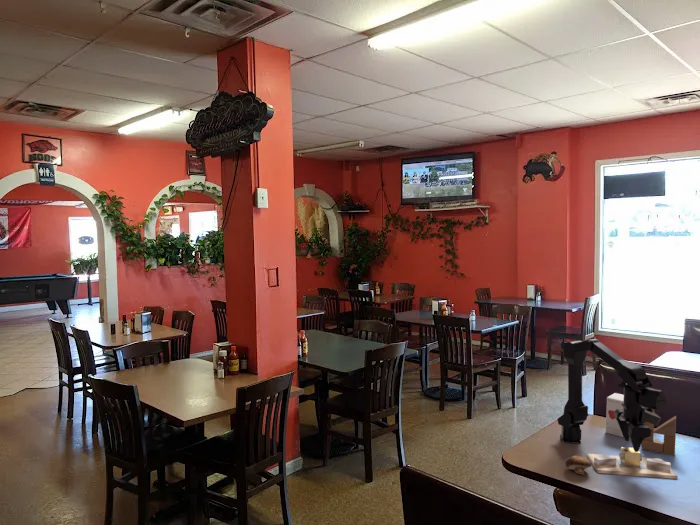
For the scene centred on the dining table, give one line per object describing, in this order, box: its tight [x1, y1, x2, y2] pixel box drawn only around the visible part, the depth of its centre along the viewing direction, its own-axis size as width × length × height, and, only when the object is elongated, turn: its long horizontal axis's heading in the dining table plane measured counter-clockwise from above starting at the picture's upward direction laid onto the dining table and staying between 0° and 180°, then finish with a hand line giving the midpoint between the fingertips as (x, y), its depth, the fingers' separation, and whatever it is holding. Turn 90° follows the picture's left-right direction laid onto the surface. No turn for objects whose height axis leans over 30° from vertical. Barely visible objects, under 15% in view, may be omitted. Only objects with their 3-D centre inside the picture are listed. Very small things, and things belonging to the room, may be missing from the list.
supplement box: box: [605, 392, 630, 439], centre depth 210 cm, size 9×9×15 cm
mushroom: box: [565, 455, 592, 476], centre depth 177 cm, size 8×8×6 cm
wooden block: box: [640, 406, 677, 457], centre depth 193 cm, size 4×11×18 cm, turn 55°
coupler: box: [618, 446, 642, 467], centre depth 180 cm, size 7×4×5 cm, turn 80°
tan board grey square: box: [586, 453, 678, 480], centre depth 181 cm, size 25×13×3 cm, turn 80°
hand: (631, 446), depth 180 cm, fingers open, 9 cm apart
